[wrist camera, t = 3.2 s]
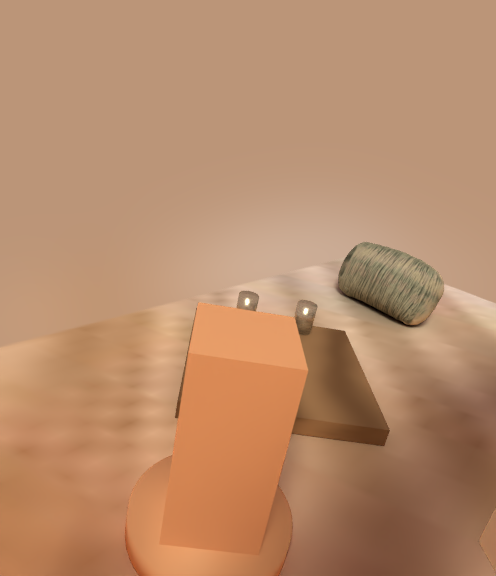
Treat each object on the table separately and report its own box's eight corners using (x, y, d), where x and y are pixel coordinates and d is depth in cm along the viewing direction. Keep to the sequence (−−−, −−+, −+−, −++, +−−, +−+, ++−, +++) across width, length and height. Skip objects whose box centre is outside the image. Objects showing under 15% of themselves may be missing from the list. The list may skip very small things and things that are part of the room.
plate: (341, 343, 50) (344, 331, 49) (384, 445, 35) (389, 430, 35) (194, 320, 49) (196, 307, 48) (175, 417, 34) (177, 400, 33)
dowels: (309, 327, 49) (315, 301, 48) (311, 336, 47) (318, 310, 46) (234, 315, 48) (239, 289, 47) (234, 324, 46) (239, 297, 45)
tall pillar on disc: (280, 477, 30) (325, 307, 26) (295, 620, 22) (367, 407, 17) (142, 459, 30) (164, 281, 25) (105, 601, 21) (127, 372, 17)
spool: (314, 267, 62) (367, 211, 60) (344, 289, 69) (392, 239, 67) (382, 336, 54) (446, 273, 51) (408, 353, 61) (465, 298, 59)
